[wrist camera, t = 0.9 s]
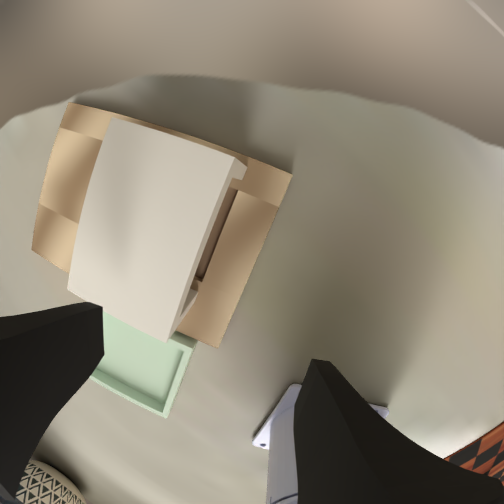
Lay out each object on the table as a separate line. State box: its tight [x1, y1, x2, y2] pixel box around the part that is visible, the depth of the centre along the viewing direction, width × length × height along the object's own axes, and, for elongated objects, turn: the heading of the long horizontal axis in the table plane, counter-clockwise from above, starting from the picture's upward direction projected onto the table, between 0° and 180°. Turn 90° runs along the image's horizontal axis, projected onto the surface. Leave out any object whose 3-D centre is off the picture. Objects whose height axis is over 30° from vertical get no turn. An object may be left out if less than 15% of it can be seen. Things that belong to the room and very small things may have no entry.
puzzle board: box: [32, 102, 293, 348], centre depth 18 cm, size 17×12×1 cm
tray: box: [89, 311, 198, 419], centre depth 20 cm, size 8×8×2 cm
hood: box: [67, 117, 247, 343], centre depth 14 cm, size 6×9×5 cm
